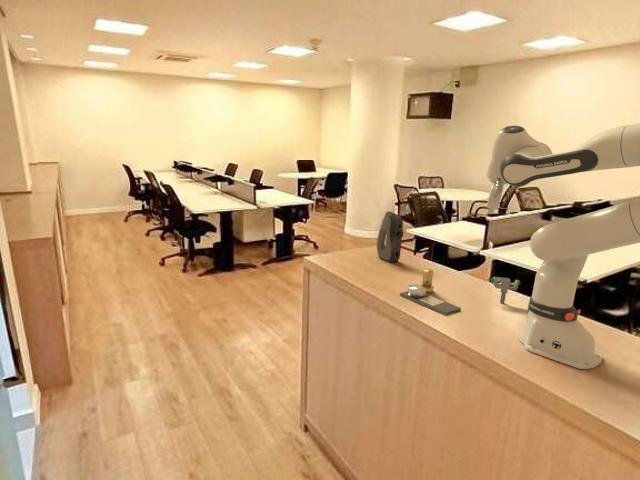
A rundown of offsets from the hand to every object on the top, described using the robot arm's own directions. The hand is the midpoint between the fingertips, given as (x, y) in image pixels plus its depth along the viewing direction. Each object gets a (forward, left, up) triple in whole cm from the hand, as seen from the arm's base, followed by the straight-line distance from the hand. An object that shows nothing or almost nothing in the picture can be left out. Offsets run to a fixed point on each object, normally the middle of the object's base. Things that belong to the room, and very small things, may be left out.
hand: (492, 205), depth 149 cm
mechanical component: (-4, -10, -39) cm, 40 cm away
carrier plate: (+11, +15, -39) cm, 43 cm away
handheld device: (+61, -11, -39) cm, 73 cm away
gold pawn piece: (+20, +6, -39) cm, 44 cm away
